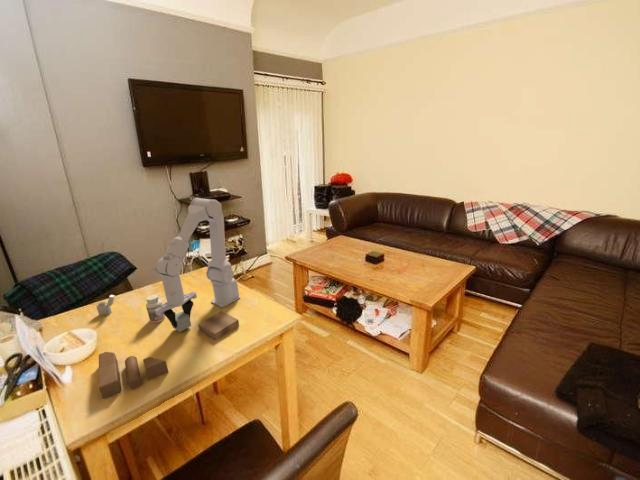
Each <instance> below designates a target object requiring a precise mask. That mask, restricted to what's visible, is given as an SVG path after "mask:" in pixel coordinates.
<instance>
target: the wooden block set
mask: <svg viewBox="0 0 640 480" xmlns="http://www.w3.org/2000/svg"><path fill="white" fill-rule="evenodd" d="M142 362H143V366H144V369H145V373H146V377H147V380H148V381H151V380H153V379H157V378H158V377H161V376H163V375H166V374H169V368H168V365H167V364H168V363H167V361H166V360H164V359H159V358H156V357H151V356H148V357H147V358H146V357H145V358H143V359H142ZM118 363H119V362H118V359H117V355H116V353H115V352H110V351H104V352H102V353H99V354H98V369H97V379H98V380H97V383H98V384H97V387H98V392H99V394H100V396H101V397H100V398H101V400H107V399H109V398H111V397H114V396H115V395H118V394H120V393H122V392H123V391H122V382H121V373H120V370H119V364H118ZM124 366H125V372H126V380H127V387H128V388H129V389H131V390H134V389H137V388H139V387H140V386H141V385H142V379H141V378H142V377H141V371H140V368H139V362H138V358H137V357H136V356H135V355H129V356H128V357H126V359H125V360H124Z"/></svg>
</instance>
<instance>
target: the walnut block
mask: <svg viewBox="0 0 640 480" xmlns="http://www.w3.org/2000/svg"><path fill="white" fill-rule="evenodd" d="M197 325H198V330H199V331H200V332H201V333H203V334H205V335H206V336H208V337H210V338H212V339H214V340H215V341H217V340H218V339H220V338H222V337H223V336H225V335H227V334H229V333H231V331H233V330H235V329H236V328H238V327H240V323H239V319H237V318H236V317H234V316H232V315H229V314H228V313H226V312H224V311H222V310H220V311H218V312H217V313H216V314H214V315H212V316H211V317H209V318H207V319H205V320H203V321H201V322H199V323H198V324H197Z"/></svg>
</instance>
